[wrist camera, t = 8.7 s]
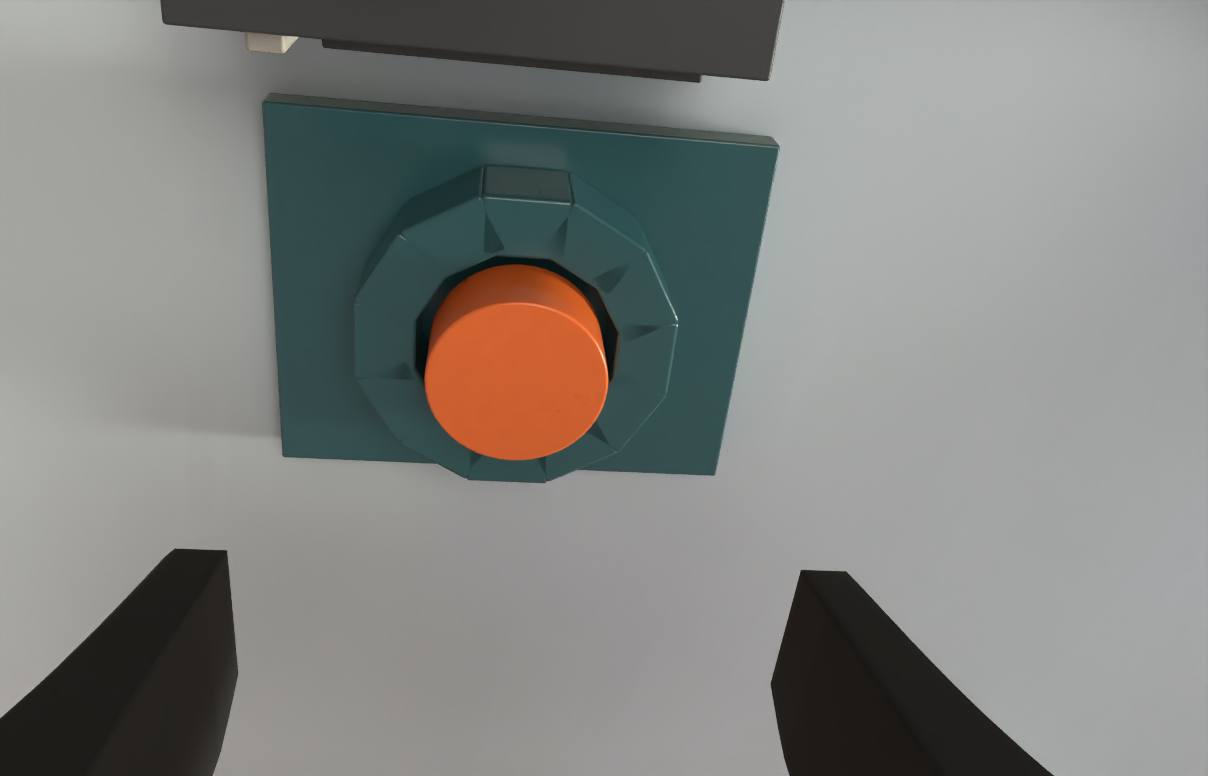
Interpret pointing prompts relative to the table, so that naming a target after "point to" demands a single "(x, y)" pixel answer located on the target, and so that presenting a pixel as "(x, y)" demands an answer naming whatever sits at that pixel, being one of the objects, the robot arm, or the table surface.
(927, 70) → the table surface
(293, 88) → the table surface
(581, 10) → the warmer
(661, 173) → the control pad
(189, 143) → the table surface
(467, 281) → the button
